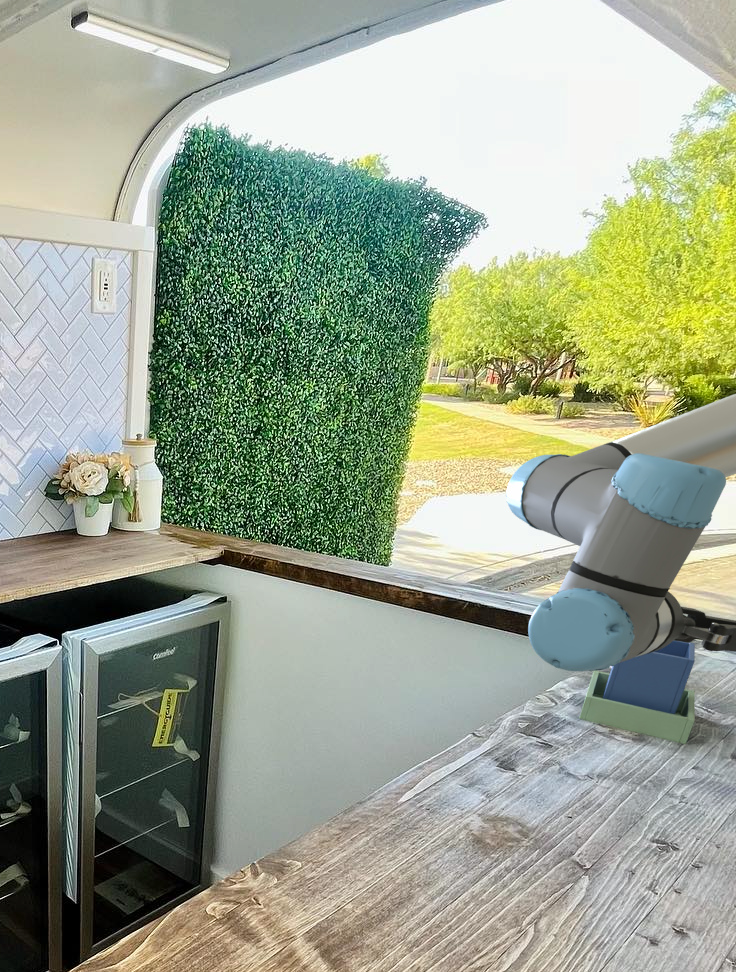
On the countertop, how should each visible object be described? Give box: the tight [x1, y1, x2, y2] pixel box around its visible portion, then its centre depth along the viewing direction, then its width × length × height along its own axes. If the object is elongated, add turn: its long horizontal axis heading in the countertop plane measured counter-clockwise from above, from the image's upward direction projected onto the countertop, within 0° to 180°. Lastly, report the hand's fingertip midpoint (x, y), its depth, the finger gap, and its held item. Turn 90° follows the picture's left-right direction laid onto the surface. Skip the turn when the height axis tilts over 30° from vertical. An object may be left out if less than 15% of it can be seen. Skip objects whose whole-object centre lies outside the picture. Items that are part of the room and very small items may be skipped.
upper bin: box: [602, 640, 696, 715], centre depth 108 cm, size 8×8×11 cm
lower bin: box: [578, 670, 696, 745], centre depth 110 cm, size 12×12×4 cm
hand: (684, 607), depth 90 cm, fingers open, 13 cm apart
